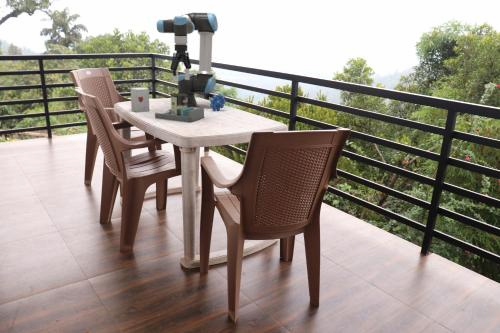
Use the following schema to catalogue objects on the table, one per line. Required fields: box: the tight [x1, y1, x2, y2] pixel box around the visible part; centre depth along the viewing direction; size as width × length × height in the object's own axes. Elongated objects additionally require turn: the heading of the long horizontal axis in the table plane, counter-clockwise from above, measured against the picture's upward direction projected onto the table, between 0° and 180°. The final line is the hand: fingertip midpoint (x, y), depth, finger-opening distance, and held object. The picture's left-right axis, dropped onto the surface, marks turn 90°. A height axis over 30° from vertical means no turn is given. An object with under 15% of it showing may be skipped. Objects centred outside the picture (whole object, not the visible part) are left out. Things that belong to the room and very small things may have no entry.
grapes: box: [209, 93, 227, 112], centre depth 284 cm, size 12×7×12 cm, turn 113°
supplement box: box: [130, 87, 150, 113], centre depth 273 cm, size 9×9×15 cm
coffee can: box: [170, 92, 188, 116], centre depth 253 cm, size 10×10×14 cm
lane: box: [154, 106, 205, 123], centre depth 254 cm, size 25×17×7 cm
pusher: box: [181, 107, 195, 116], centre depth 252 cm, size 2×13×6 cm, turn 158°
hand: (181, 80), depth 248 cm, fingers open, 13 cm apart
